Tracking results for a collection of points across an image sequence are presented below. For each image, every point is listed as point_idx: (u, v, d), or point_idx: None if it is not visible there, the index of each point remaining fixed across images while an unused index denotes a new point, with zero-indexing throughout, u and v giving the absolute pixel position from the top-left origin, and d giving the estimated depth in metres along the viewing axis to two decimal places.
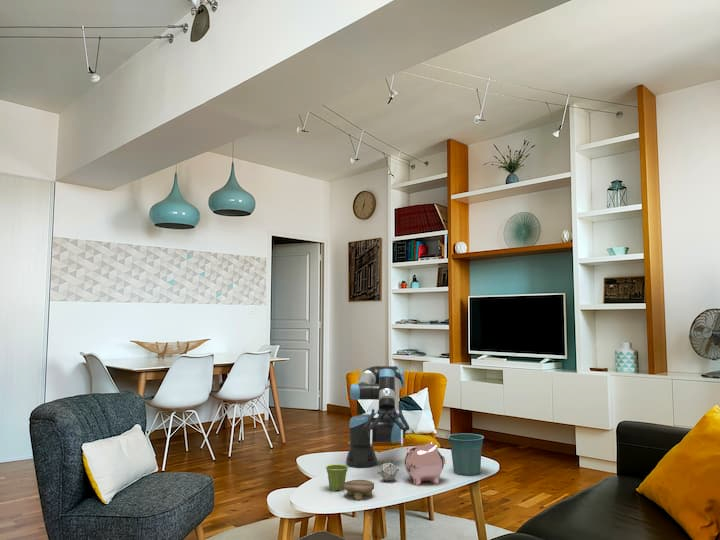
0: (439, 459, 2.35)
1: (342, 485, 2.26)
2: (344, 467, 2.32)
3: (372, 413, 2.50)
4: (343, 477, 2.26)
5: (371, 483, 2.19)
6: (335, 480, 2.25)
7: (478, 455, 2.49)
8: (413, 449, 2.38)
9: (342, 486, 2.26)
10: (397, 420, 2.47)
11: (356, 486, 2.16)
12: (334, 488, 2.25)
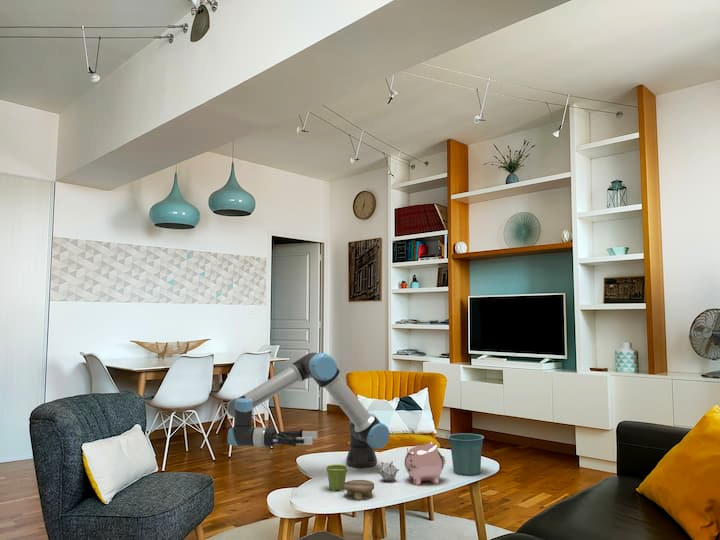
0: (439, 459, 2.35)
1: (342, 485, 2.26)
2: (344, 467, 2.32)
3: None
4: (343, 477, 2.26)
5: (371, 483, 2.19)
6: (335, 480, 2.25)
7: (478, 455, 2.49)
8: (413, 449, 2.38)
9: (342, 486, 2.26)
10: None
11: (356, 486, 2.16)
12: (334, 488, 2.25)
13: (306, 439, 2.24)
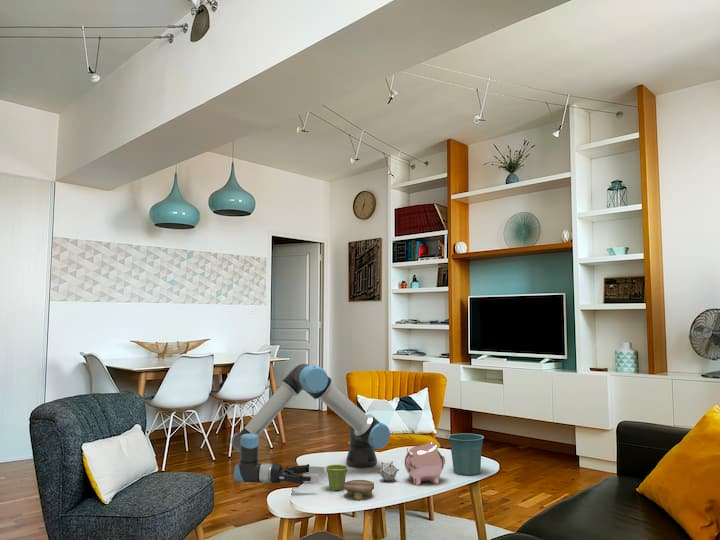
0: (439, 459, 2.35)
1: (342, 485, 2.26)
2: (344, 467, 2.32)
3: None
4: (343, 477, 2.26)
5: (371, 483, 2.19)
6: (335, 480, 2.25)
7: (478, 455, 2.49)
8: (413, 449, 2.38)
9: (342, 486, 2.26)
10: None
11: (356, 486, 2.16)
12: (334, 488, 2.25)
13: (313, 476, 2.22)
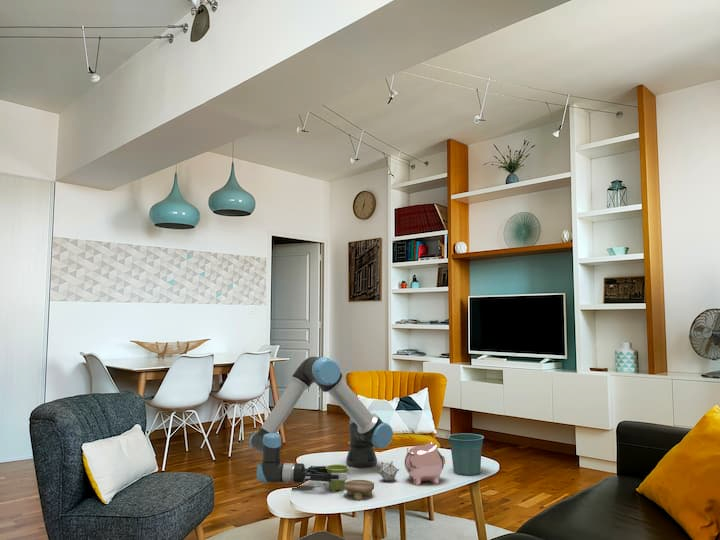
0: (439, 459, 2.35)
1: (342, 485, 2.26)
2: (344, 467, 2.32)
3: None
4: None
5: (371, 483, 2.19)
6: (335, 480, 2.25)
7: (478, 455, 2.49)
8: (413, 449, 2.38)
9: (342, 486, 2.26)
10: None
11: (356, 486, 2.16)
12: (334, 488, 2.25)
13: (341, 475, 2.24)
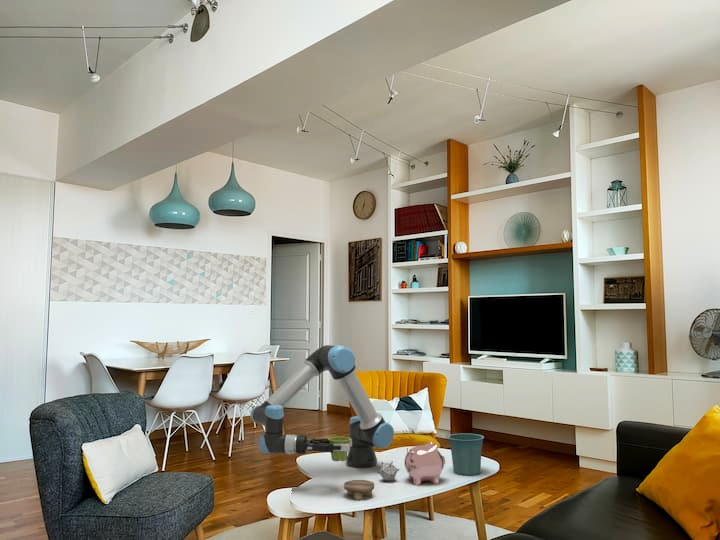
0: (439, 459, 2.35)
1: (344, 456, 2.25)
2: (346, 439, 2.31)
3: None
4: None
5: (371, 483, 2.19)
6: (337, 451, 2.24)
7: (478, 455, 2.49)
8: (413, 449, 2.38)
9: (344, 457, 2.26)
10: None
11: (356, 486, 2.16)
12: (337, 459, 2.24)
13: (343, 445, 2.23)
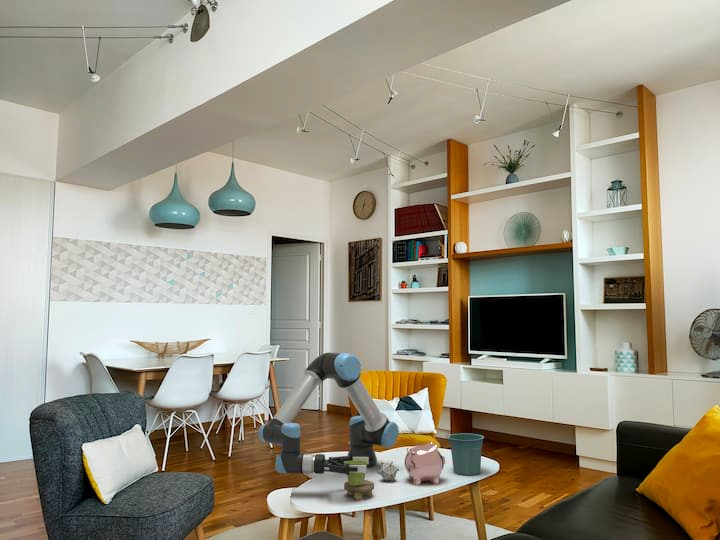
0: (439, 459, 2.35)
1: (362, 480, 2.15)
2: (363, 462, 2.21)
3: None
4: None
5: (371, 483, 2.19)
6: (354, 475, 2.14)
7: (478, 455, 2.49)
8: (413, 449, 2.38)
9: (362, 481, 2.15)
10: None
11: (356, 486, 2.16)
12: (354, 484, 2.13)
13: (360, 467, 2.13)
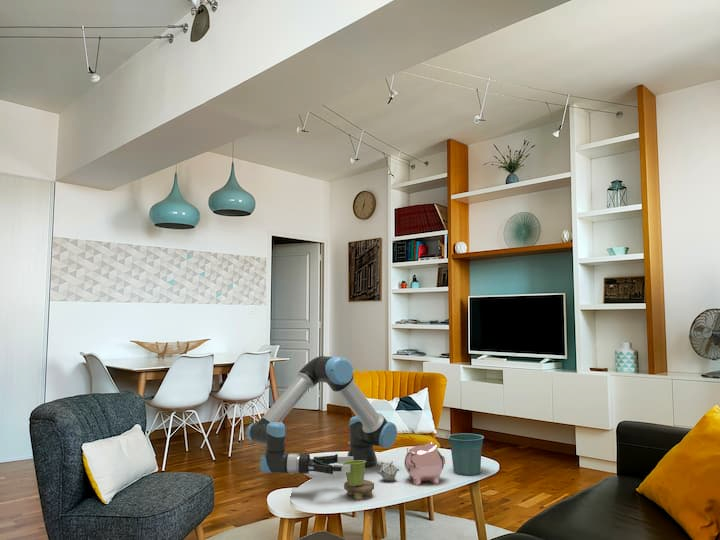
0: (439, 459, 2.35)
1: (361, 480, 2.14)
2: (362, 462, 2.20)
3: None
4: (361, 471, 2.15)
5: (371, 483, 2.19)
6: (353, 475, 2.13)
7: (478, 455, 2.49)
8: (413, 449, 2.38)
9: (361, 481, 2.14)
10: None
11: (356, 486, 2.16)
12: (353, 484, 2.13)
13: (344, 466, 2.13)
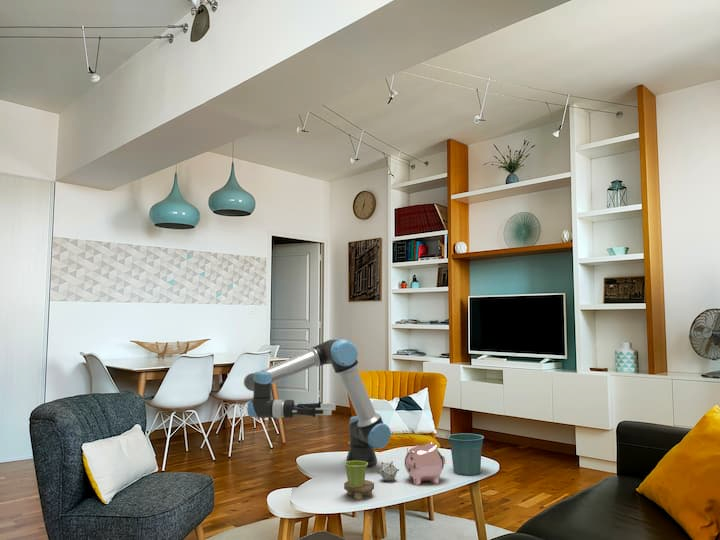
0: (439, 459, 2.35)
1: (361, 482, 2.14)
2: (364, 463, 2.20)
3: None
4: (362, 474, 2.14)
5: (371, 483, 2.19)
6: (354, 477, 2.13)
7: (478, 455, 2.49)
8: (413, 449, 2.38)
9: (362, 483, 2.14)
10: None
11: None
12: (353, 486, 2.13)
13: (325, 409, 2.27)
